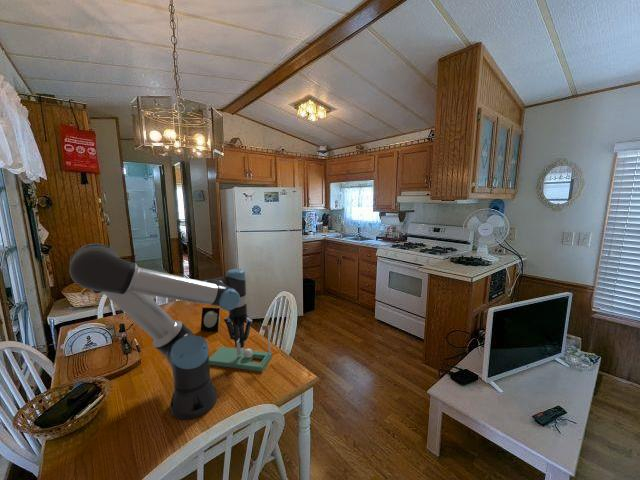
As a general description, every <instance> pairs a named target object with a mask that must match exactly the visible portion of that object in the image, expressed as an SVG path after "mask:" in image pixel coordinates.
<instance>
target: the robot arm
mask: <svg viewBox="0 0 640 480" xmlns="http://www.w3.org/2000/svg"><path fill="white" fill-rule="evenodd" d="M68 268H69V269H68V271H69V276H70V279H72V281H73V282H74V284H76V285H78V286H79V287H82V288H83V289H86V290H91V291H92V292H93V293H94V294H95V295H104V296H106V297H107V298H108V299H109V300H110V301H112V302H113V303H114V304H115V305H116V306H117V307H118V308H119V309H120V310H121V311H122V312H124V313H125V315H127V316H128V317H129V318H130V319H131V320H132V321H133V322H134V323H135V324H137V326H139V327H140V328H141V329H142V330H143V331H144V332H145V333H146V334H148V335H149V337H150V338H152V346H153V347H154V348H155V349H156V350H157V351H159V353H161V354H162V355H163V356H164V357H165V358H166V360H167V362H168V364H169V365H170V368H171V371H172V378H173V387H174V388H173V393H172V395H171V400H170V403H169V404H170V405H169V407H170V414H171V416H172V417H173V418H175V419H177V420H181V421H185V420H188V421H189V420H193V419H195V418H198V417H200V416H203V415H205V414H206V413H208V412H209V411H210V410H211V409H212V408H213V407H214V406H215V404H216V402H217V400H218V399H217V397H218V396H217V389H216V387H215V386H214V384H213V382H212V380H211V371H210V365H209V358H210V356H209V353H210V349H209V345H208V341H207V340H206V339H205V338H204V337H203V336H200V335H198V336H197V335H195V334H194V333H193V331H192V330H191V329H190V328H188V327H187V326H186V325H185V324H184V323H183V322H182V321H180V320H174V319H173V318H172V317H171V316H170V315H169V314H168V313H167V312H166V311H165V310H164V309H163V308H162V307H161V306H160V305H159V304H158V303H157V302H156V301H155V300H154V298H152V297H151V296H153V297H160V298H166V299H174V300H178V301H184V302H190V303H197V304H202V305H210V306H213V307H214V306H215V307H219V308H221V309H223V310H224V311H228V314H229V315H228V316H227V317H225V318H224V319H223V321H224V323H225V325H226V328H227V331H228V335H229V338H230V340H234V346H235V347H234V348H236V349H237V355H241V354H242V353H243V349H244V347H245V342H246V341H247V339H248V338H249V335H250V332H251V331H250V330H251V326H252V323H253V321H254V320H253V319H252V318H251V319H250V318H249V316H248V314H247V313H248V306H247V286H246V284H247V283H246V282H247V279H246V272H245V270H244V269H241V268H233V269H229V270H227V271H226V275H225V276H222V277H221V276H220V277H217V278H215V277H214V278H211V279H205V280H199V279H193V278H189V277H185V276H180V275H176V274H171V273H168V272H162V271H159V270H158V271H157V270H155V269H154V270H153V269H150V268H149V269H148V268H144V267H140V266H138V264H137V262H133V261H129V260H125V259H122V258H121V257H120V256H118V255H117V252H116V251H115V249H113V248H112V247H110V246H109V245H105V244H101V243H91V244H86V245H83V246H81V247H80V248H78V249H77V250H76V251H74V253H72V255H71V257H70V260H69V267H68ZM245 322H246V323H245ZM245 324H246V325H245Z"/></svg>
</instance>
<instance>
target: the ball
mask: <svg viewBox="0 0 640 480" xmlns="http://www.w3.org/2000/svg"><path fill="white" fill-rule="evenodd" d="M252 351H253V350H252V349H251V348H249V347H248V348H245V349H244V352H243V355H244V357H245V358H249V357H251V356H252Z"/></svg>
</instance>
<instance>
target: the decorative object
mask: <svg viewBox="0 0 640 480" xmlns="http://www.w3.org/2000/svg"><path fill="white" fill-rule="evenodd" d="M220 308H221V307H202V308H201V309H202V310H201V311H202V312H201V320H200V332H212V333H218V332H219V324H220V321H221V320H220V319H221V317H220Z"/></svg>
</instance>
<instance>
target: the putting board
mask: <svg viewBox="0 0 640 480" xmlns="http://www.w3.org/2000/svg"><path fill="white" fill-rule="evenodd" d="M261 329H262V331H267V341H268V342H267V344H268V345H267V346H268V347H267V348H268V352H267V351H258V350H252V356H251V357H249V358H245V357H244V355H243V353H242V354H241V355H237V348H236V347H226V346H220V347H219V348H217V350H216V351H215V352H214V353H213V354H212V355H211V356H209V366H218V367H226V368H232V369H241V370H246V371H247V370H249V371H253V372H261V373H263V372H264V370H265V369H266V367H267V366H268V364H269V363H270V361H271V359H272V358H271V357H273V352H271V338H270V337H271V336H270V335H271V333H270V332H271V331H270V325H262V328H261ZM244 350H245V349H244V348H243V352H244ZM253 359H259V360H261V362H260V363H259V362H253Z"/></svg>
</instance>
